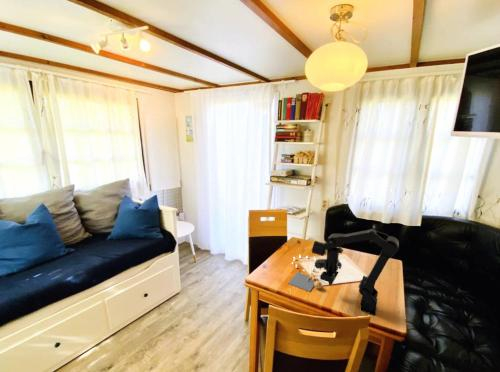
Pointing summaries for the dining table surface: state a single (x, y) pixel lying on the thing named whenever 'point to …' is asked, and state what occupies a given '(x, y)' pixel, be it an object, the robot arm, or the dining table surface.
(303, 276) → the mat
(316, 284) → the figurine
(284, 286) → the dining table surface
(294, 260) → the game piece set
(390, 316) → the dining table surface
